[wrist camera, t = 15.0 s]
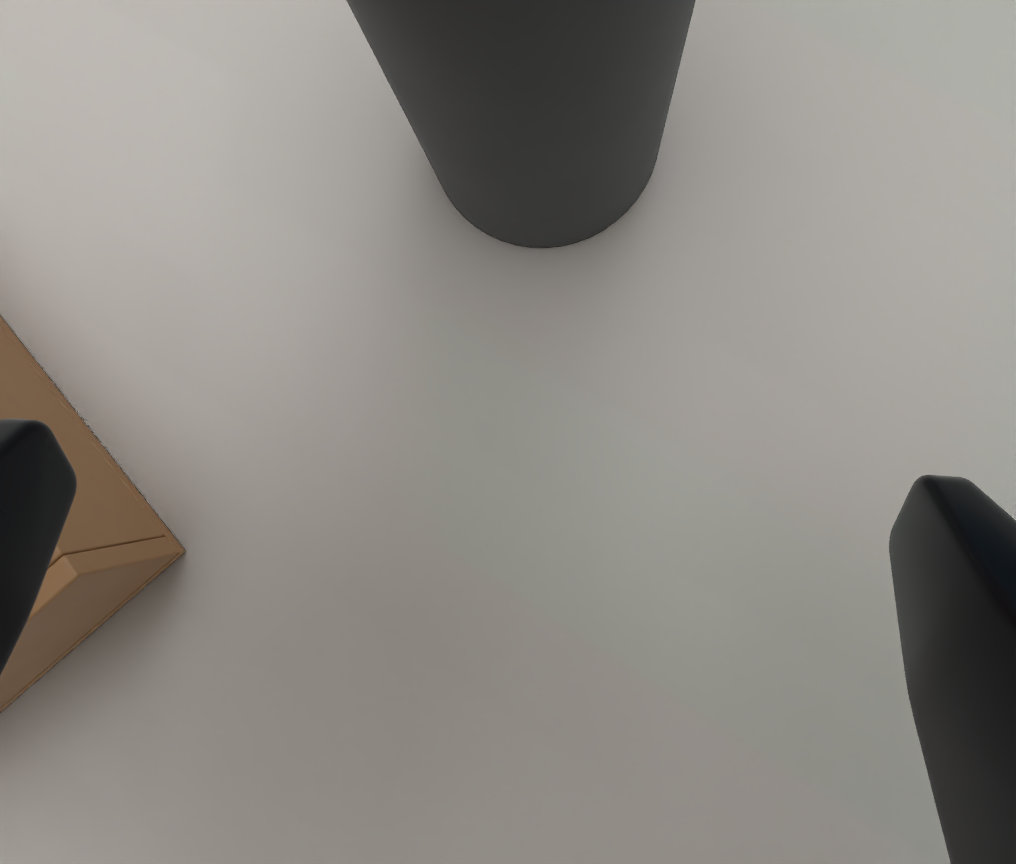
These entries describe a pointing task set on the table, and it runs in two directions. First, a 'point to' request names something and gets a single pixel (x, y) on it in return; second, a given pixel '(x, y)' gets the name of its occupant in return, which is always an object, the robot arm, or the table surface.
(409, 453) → the table surface
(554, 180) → the dark grey cylinder
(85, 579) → the brown wooden tray
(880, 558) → the table surface
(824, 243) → the table surface
